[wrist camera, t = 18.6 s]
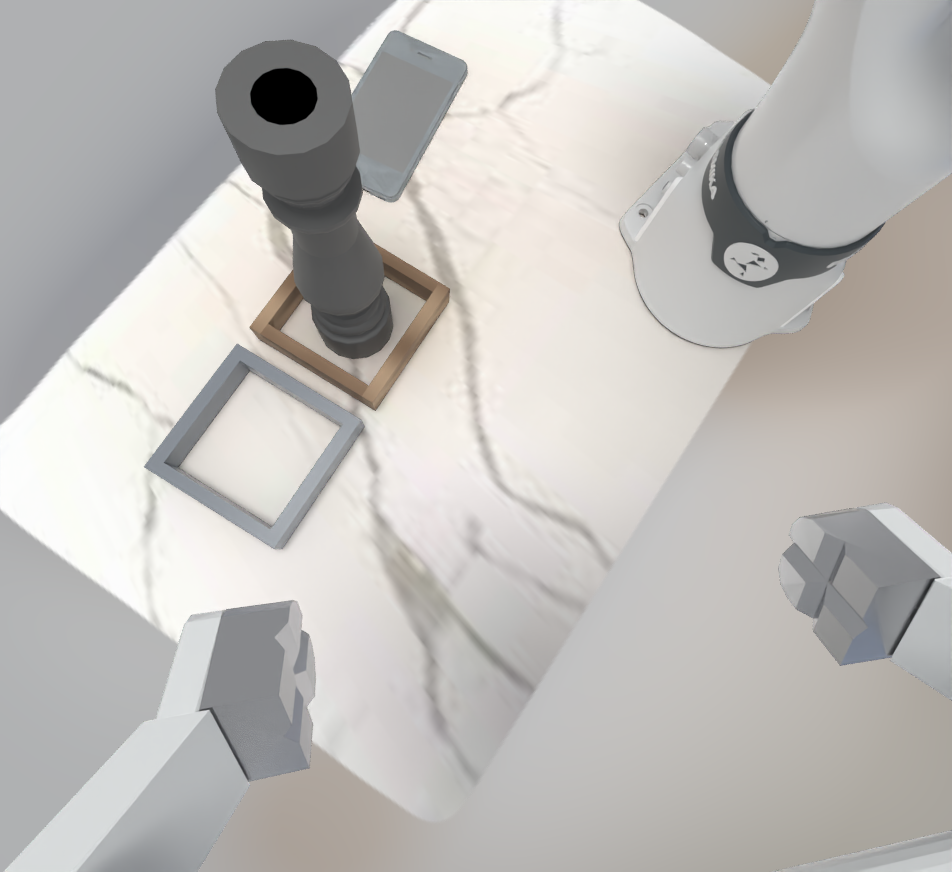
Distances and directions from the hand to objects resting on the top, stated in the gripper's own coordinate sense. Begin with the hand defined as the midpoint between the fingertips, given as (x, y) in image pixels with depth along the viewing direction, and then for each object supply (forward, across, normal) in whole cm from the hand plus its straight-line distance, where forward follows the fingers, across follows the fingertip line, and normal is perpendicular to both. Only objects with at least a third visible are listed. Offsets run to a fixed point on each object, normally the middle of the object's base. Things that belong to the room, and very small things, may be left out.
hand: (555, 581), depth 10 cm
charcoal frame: (+34, +14, +19) cm, 41 cm away
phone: (+55, 0, -1) cm, 55 cm away
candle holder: (+41, +5, +12) cm, 43 cm away
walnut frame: (+41, +5, +12) cm, 43 cm away
